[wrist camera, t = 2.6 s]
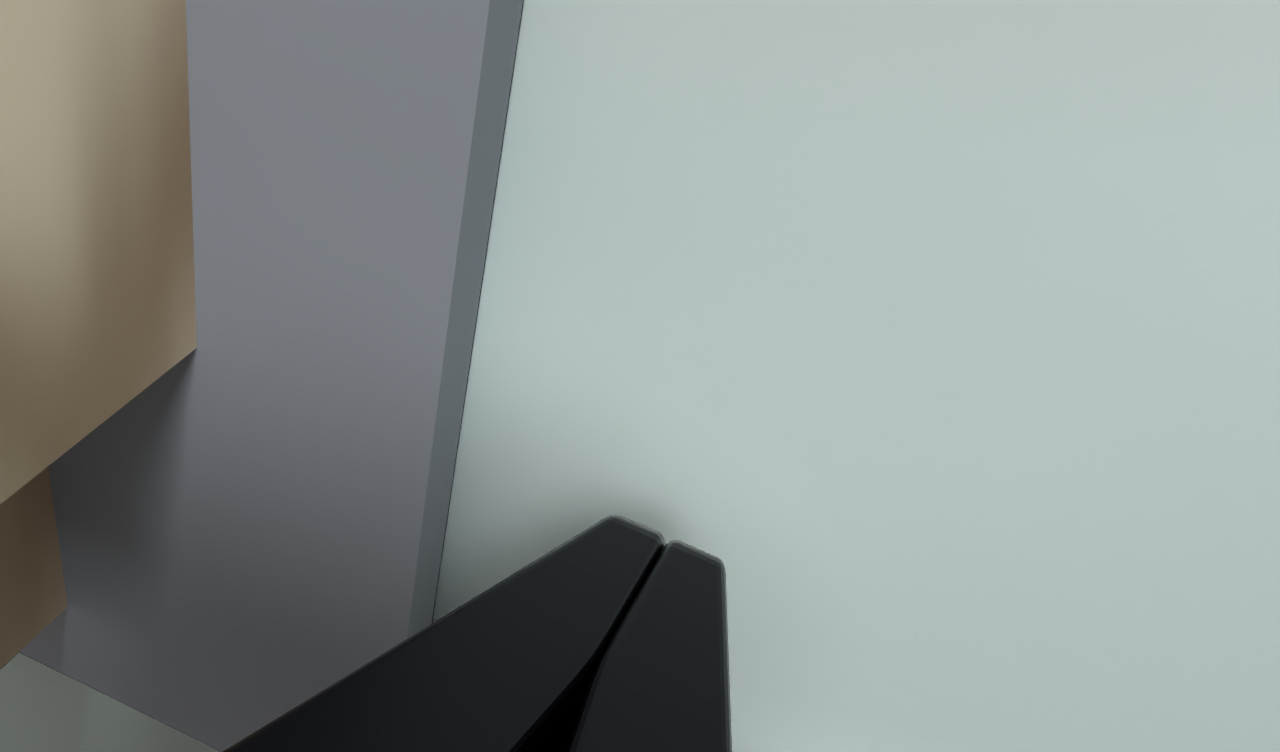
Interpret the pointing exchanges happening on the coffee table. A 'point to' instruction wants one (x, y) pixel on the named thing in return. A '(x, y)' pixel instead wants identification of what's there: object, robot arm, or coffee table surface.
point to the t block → (83, 253)
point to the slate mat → (295, 366)
